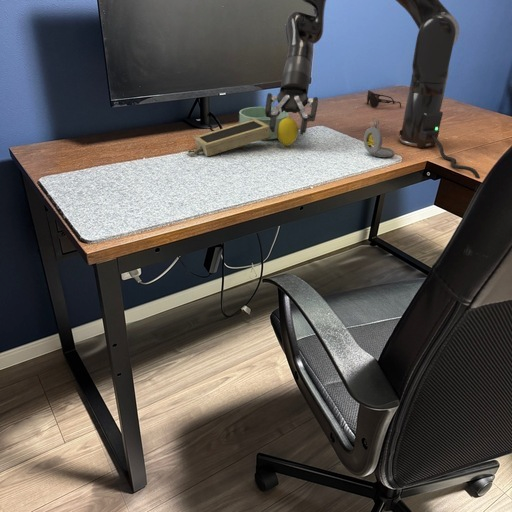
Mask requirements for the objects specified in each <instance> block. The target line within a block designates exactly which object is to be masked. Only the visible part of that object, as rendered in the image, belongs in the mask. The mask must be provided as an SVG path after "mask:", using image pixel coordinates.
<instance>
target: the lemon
mask: <svg viewBox="0 0 512 512" xmlns="http://www.w3.org/2000/svg"><path fill="white" fill-rule="evenodd" d="M298 133H299V130H298V124H297V122H296V121H295V120H294V119H293V118H291V117H290V116H289V117H287V118H285V119H283V120H281V122H280V123H279V125H278V129H277V136H278V138H277V140H278V141H279V142H280V143H281V144H283V145H284V146H285V147H288V146H289V145H291V144H294V142H296V140H297V138H298Z"/></svg>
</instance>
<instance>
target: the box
mask: <svg viewBox="0 0 512 512" xmlns="http://www.w3.org/2000/svg"><path fill="white" fill-rule="evenodd" d="M269 133H270V126H269V125H267V124H265V123H263V122H261V121H259V120H257V119H253V120H250V121H247V122H243V123H240V124H239V123H237V124H234V125H231V126H226V127H224V128H219V129H216V130H213V131H210V132H206V133H203V134H200V135H197V136H193V140H194V143H195V148H194V149H188V150H187V155H189V156H190V157H194V156H195V155H199V154H200V153H201V154H203V155H205V156H206V157H211V156H214V155H218V154H221V153H223V152H227V151H230V150H233V149H236V148H240V149H242V148H243V147H245V146H247V145H249V144H252V143H256V142H262V141H266V139H269V138H270V136H269ZM269 140H270V139H269Z"/></svg>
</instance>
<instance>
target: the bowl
mask: <svg viewBox="0 0 512 512" xmlns="http://www.w3.org/2000/svg"><path fill="white" fill-rule="evenodd" d="M265 107H266V106H251V107H245V108H242V109H240V110H239V112H238V124H240V123H243V122H247V121H250V120H253V119H257V120H259V121H261V122H263V123H265V124H267V125H269V124H270V119H271V118H269V117H266V114H265ZM275 108H276V107H271V111H273V110H274V109H275ZM287 117H290V112H285V111H284V112H283V113H282V114H281V115H279V116H278V117H277V119H276V126H275V132H272V131H271V130H270V133H269V136H270V138H269V139H266V140H267V141H269V140H276V139H277V140H278V136H277V129H278V125H279V123H280V122H281V120H283V119H285V118H287ZM266 140H265V141H266Z"/></svg>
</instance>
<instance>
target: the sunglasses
mask: <svg viewBox="0 0 512 512" xmlns="http://www.w3.org/2000/svg"><path fill="white" fill-rule="evenodd" d="M380 97H385V98H389V99H383V98H380ZM379 103H382V104H391V103H392V104H396V103H398V104H399V108H402V102H400V101H395V100H394V98H393V97H392V96H388V95H385V94H379V93H375V92H373V91H371V90H367V96H366V104H367V105H369V104H370V107H371V108H374V109H376V108H378V106H379Z"/></svg>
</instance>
